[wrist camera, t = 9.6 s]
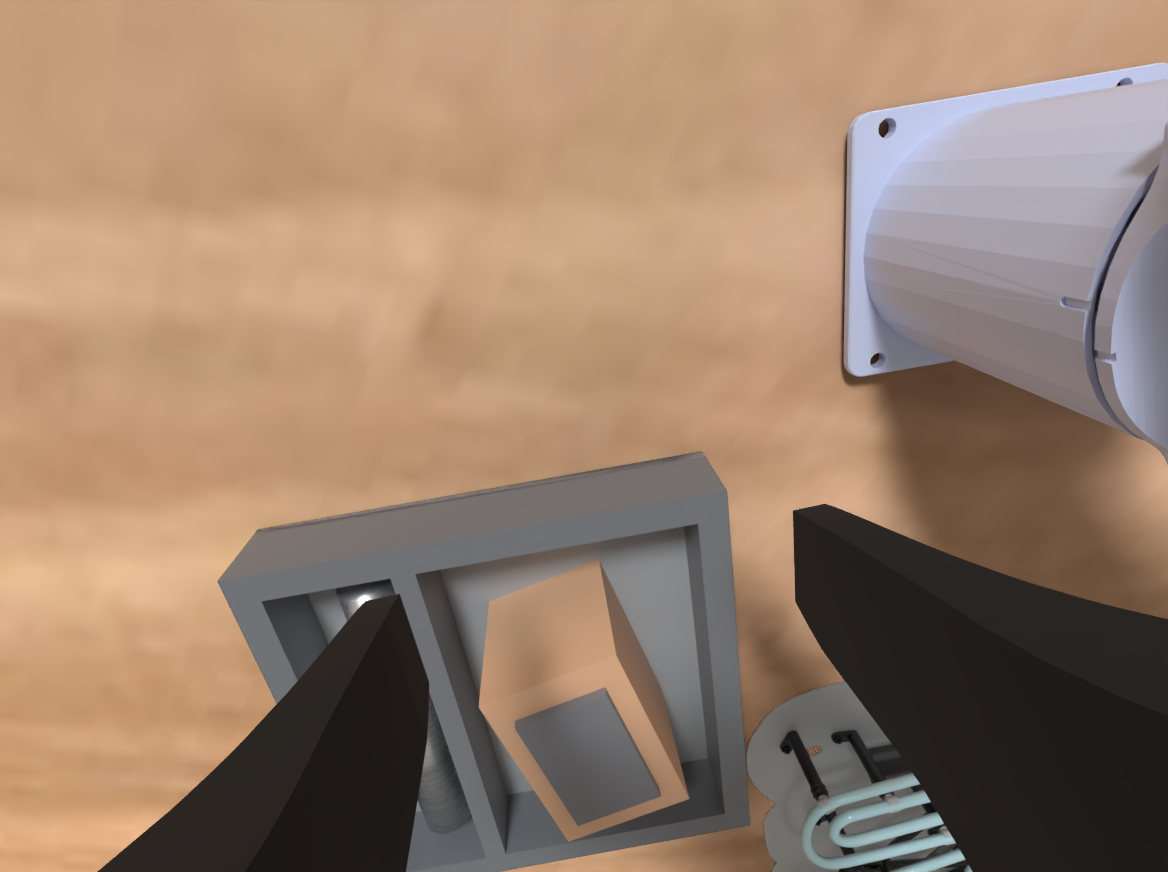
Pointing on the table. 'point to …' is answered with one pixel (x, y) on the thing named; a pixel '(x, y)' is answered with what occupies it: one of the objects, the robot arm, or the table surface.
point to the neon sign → (842, 792)
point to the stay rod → (439, 774)
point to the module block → (579, 703)
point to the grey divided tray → (459, 620)
